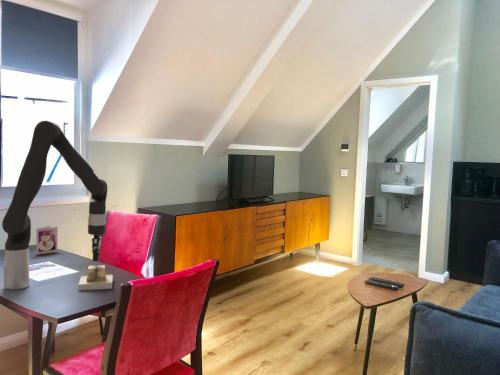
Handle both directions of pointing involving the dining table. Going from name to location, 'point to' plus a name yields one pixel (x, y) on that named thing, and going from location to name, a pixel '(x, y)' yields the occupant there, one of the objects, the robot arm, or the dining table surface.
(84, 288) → the dock
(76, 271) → the dining table surface
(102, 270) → the pallet
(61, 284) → the dining table surface
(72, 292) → the dining table surface
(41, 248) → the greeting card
